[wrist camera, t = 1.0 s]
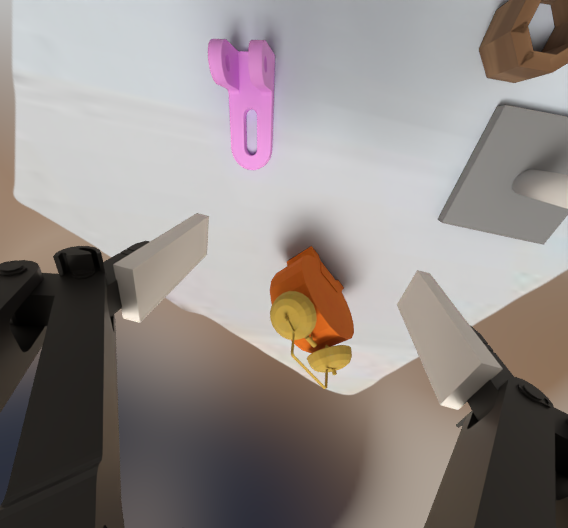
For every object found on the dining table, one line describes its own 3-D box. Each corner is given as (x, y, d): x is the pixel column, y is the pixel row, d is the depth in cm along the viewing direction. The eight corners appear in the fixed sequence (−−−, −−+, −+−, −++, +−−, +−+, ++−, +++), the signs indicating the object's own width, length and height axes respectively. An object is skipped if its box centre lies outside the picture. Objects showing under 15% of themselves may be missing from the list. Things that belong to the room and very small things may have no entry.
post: (497, 106, 27) (571, 93, 19) (621, 130, 27) (753, 127, 19) (437, 219, 34) (473, 245, 26) (535, 240, 34) (603, 274, 25)
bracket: (230, 54, 29) (206, 32, 23) (275, 55, 28) (261, 34, 22) (235, 167, 35) (217, 173, 29) (271, 170, 35) (260, 177, 29)
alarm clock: (278, 256, 41) (245, 344, 24) (306, 237, 39) (293, 320, 21) (321, 307, 45) (319, 414, 28) (349, 293, 43) (367, 401, 25)
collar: (510, -21, 23) (553, -58, 18) (588, -8, 22) (651, -43, 18) (467, 74, 26) (495, 62, 22) (534, 86, 26) (576, 76, 22)
